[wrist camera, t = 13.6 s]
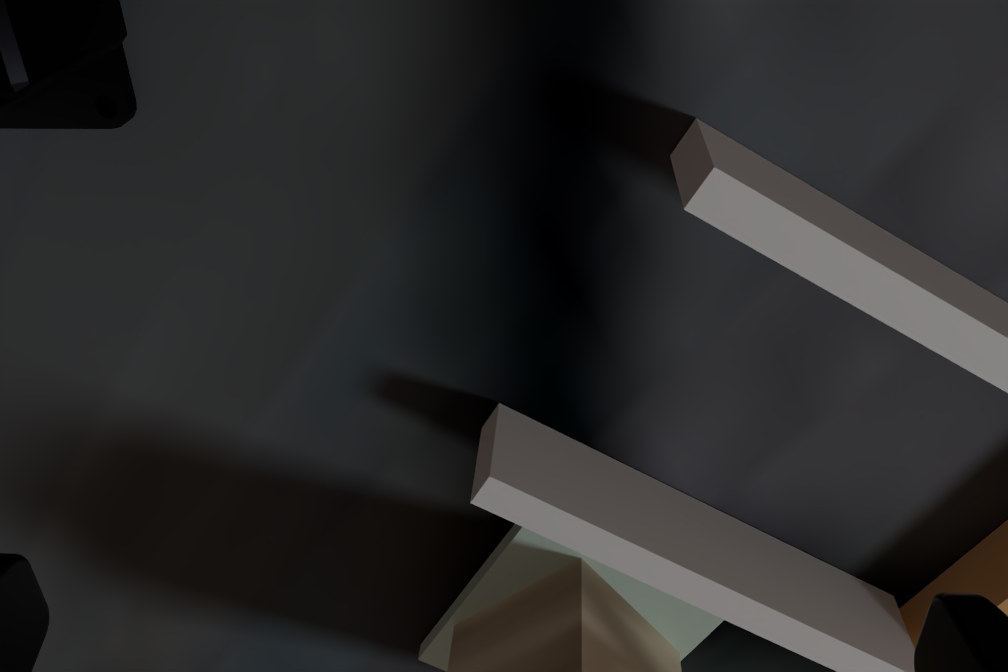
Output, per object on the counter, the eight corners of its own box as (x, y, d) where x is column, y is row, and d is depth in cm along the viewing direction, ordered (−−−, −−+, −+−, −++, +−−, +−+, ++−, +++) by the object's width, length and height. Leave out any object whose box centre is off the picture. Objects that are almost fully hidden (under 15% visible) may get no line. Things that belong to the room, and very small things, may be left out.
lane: (481, 427, 24) (470, 502, 21) (696, 118, 19) (714, 166, 16) (870, 615, 27) (901, 701, 24) (1145, 385, 22) (1221, 462, 19)
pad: (420, 644, 29) (418, 659, 28) (524, 510, 25) (523, 525, 25) (601, 719, 30) (601, 735, 30) (723, 602, 27) (725, 618, 26)
